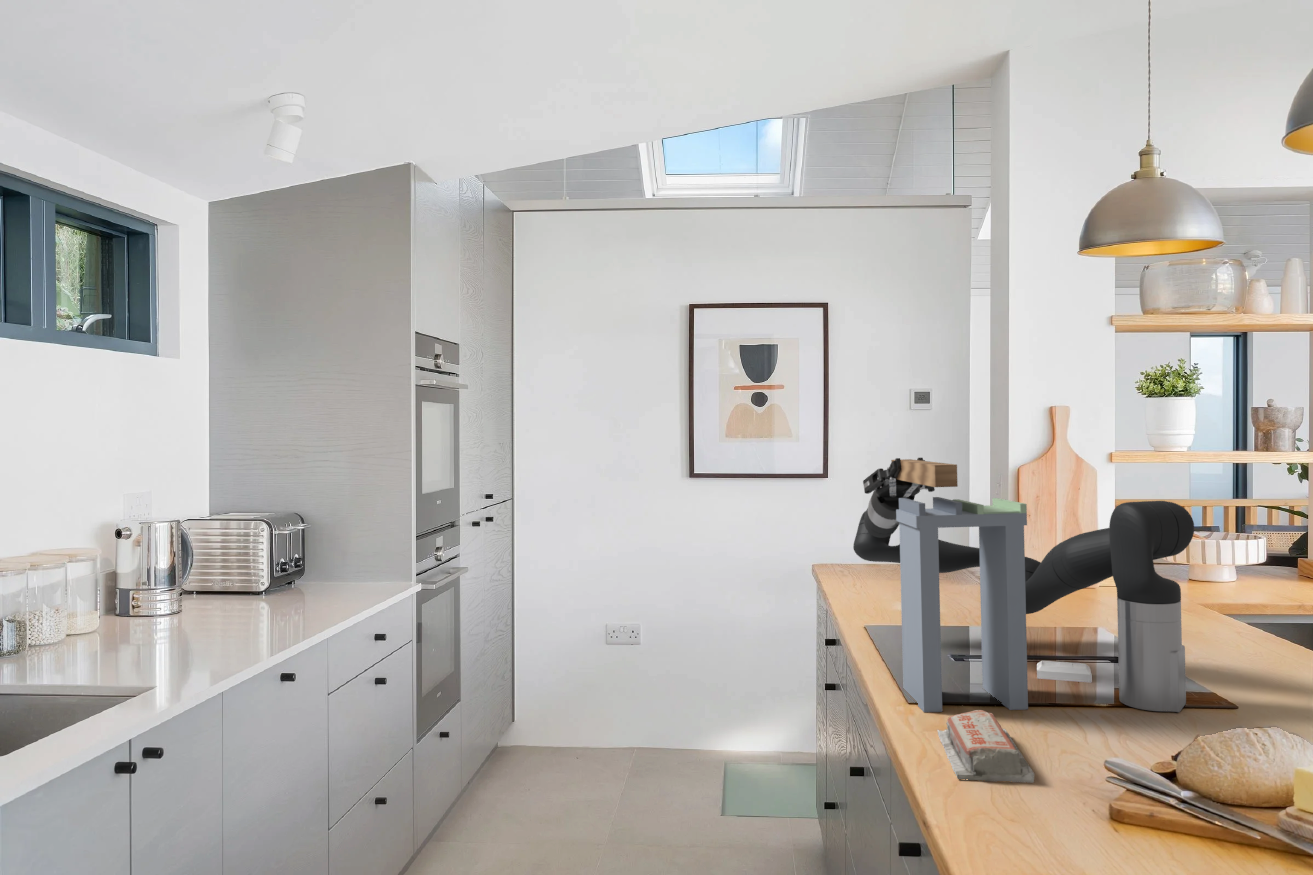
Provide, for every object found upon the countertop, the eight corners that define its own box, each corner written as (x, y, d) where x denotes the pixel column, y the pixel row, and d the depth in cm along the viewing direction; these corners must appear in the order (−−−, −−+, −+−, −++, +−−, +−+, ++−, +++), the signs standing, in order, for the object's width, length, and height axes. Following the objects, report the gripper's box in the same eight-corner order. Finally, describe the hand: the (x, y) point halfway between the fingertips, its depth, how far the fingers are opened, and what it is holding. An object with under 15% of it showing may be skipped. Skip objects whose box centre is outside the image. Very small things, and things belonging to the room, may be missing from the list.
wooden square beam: (891, 478, 169) (891, 459, 169) (910, 477, 169) (910, 459, 169) (935, 487, 143) (935, 465, 143) (957, 486, 143) (957, 464, 143)
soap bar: (1091, 684, 161) (1091, 669, 161) (1037, 680, 164) (1036, 665, 164) (1090, 677, 165) (1089, 662, 165) (1037, 673, 169) (1036, 659, 169)
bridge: (900, 690, 158) (895, 498, 158) (1002, 688, 159) (998, 495, 158) (920, 712, 146) (916, 503, 146) (1031, 709, 147) (1026, 500, 146)
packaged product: (1035, 749, 117) (956, 747, 118) (1036, 786, 117) (957, 784, 118) (1005, 706, 134) (935, 705, 136) (1005, 738, 135) (936, 737, 136)
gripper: (851, 487, 179) (868, 445, 164) (922, 485, 179) (945, 443, 164) (856, 521, 176) (874, 481, 161) (928, 519, 176) (953, 479, 161)
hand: (910, 462), depth 163 cm, fingers closed on wooden square beam, 3 cm apart
